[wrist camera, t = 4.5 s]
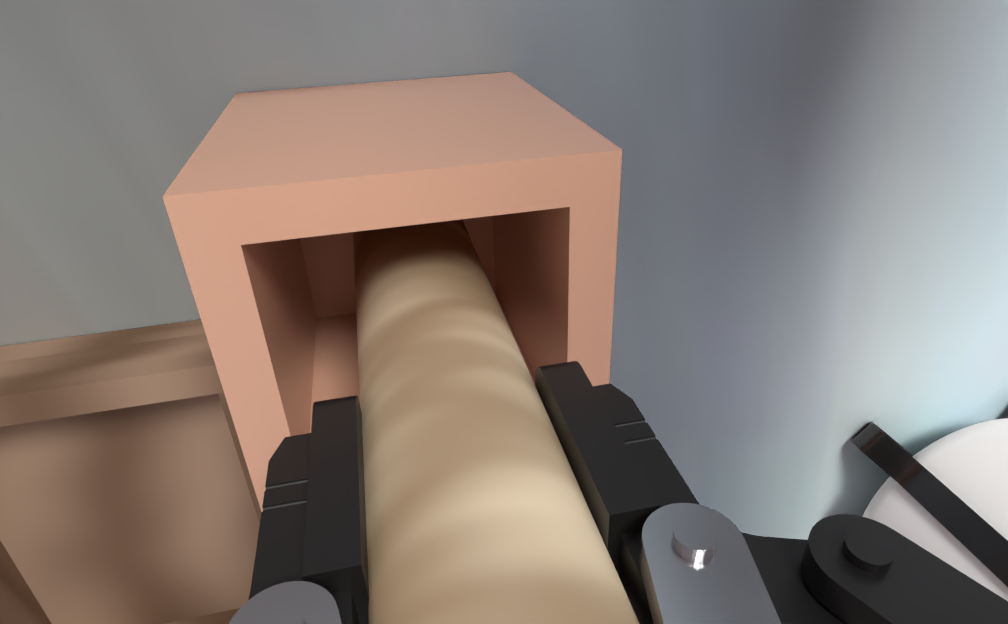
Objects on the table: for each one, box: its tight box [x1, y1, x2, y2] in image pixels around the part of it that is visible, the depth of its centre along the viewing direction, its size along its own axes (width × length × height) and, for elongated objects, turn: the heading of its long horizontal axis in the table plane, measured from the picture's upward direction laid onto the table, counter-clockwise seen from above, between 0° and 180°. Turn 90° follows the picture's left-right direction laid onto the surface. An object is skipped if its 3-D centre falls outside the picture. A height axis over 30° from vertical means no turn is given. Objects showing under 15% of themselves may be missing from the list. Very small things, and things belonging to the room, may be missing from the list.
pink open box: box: [162, 72, 622, 512], centre depth 17 cm, size 8×8×9 cm
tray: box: [0, 320, 261, 624], centre depth 23 cm, size 11×14×3 cm
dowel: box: [353, 219, 639, 624], centre depth 13 cm, size 3×3×14 cm
